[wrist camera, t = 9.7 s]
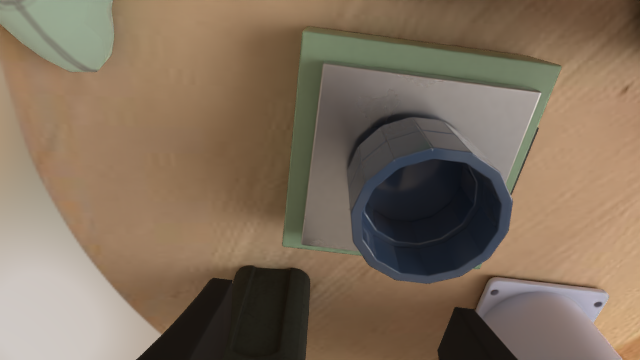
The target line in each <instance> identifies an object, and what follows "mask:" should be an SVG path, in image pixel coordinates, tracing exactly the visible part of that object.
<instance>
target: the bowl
mask: <svg viewBox="0 0 640 360" xmlns="http://www.w3.org/2000/svg"><path fill="white" fill-rule="evenodd" d="M347 182H348V195H349V206H350V218H351V229H352V241H353V243H354V245H355V246H356V247H357V249H358V250H359V252H360V253H361V255H362V256H363V258H364V259H365V260H366V262H367V263H368V265H370V266H371V267H373V268H374V269H376V270H378V271H380V272H382V273H383V274H385V275H387V276H389V277H391V278H393V279H394V280H398V281H407V282H416V283H425V284H427V283H428V284H430V283H434V282H438V281H443V280H447V279H451V278H456V277H460V276H462V275H464V274H465V273H467V272H468V271H470V270H472V269H473V268H475V267H476V266H478V265H479V264H481V263H483V262H484V261H486V260H487V259H489V258H490V257H491V255H492V254H493V252H494V251H495V250H496V248H497V247H498V246H499V244H500V243H501V241H502V240H503V239H504V237H505V236H506V234H507V233H508V231H509V224H510V218H511V211H512V205H513V199H512V197H511V195H510V193H509V190H508V188H507V186H506V183H505V181H504V179H503V177H502V174H501V172H500V171H499V170H498V169H497V168H496V167H495V166H494V165H493V164H492V163H491V162H490V161H489V160H488V159H487V158H486V157H485V156H484V155H483V154H482V153H481V152H480V151H479V150H478V149H477V148H476V147H475V146H474V145H473V144H472V143H471V142H470V141H469V140H468V139H467V138H466V137H465V136H464V135H463V134H461V133H460V132H458V131H457V130H455V129H454V128H452V127H451V126H450V125H448V124H447V123H445V122H442V121H440V120H433V119H425V118H417V117H409V118H406V119H403V120H399V121H396V122H393V123H390V124H386V125H383V126H382V127H380V128H379V129H377V130H376V131H375V132H374V133H373V134H372V135H371V136H369V137H368V138H367V139H366V140H365V141H364V142H363V143H361V144H360V145H359V147H358V148H357V150H356V152H355V154H354V156H353V159H352V161H351V163H350V166H349V168H348V170H347Z"/></svg>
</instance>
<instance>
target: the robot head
mask: <svg viewBox="0 0 640 360" xmlns="http://www.w3.org/2000/svg"><path fill="white" fill-rule="evenodd" d="M112 2H113V0H0V24H1V25H2V26H3V27H4V28H5V29H6V30H8V31H9V32H10V33H11V34H12V35H13V36H14V37H16V38H17V39H18V40H19V41H20V42H21V43H23V44H24V45H26V46H27V47H28V48H30V49H31V50H32V51H34V52H35V53H36V54H38V55H39V56H40V57H42V58H44V59H46V60H48V61H50V62H52V63H54V64H56V65H58V66H60V67H61V68H63V69H65V70H67V71H69V72H97V71H98V70H99V69H100V68H101V67H102V66H103V64H104V63H105V62H106V61H107V60H108V58H109V57H110V56H111V55H112V48H113V42H114V26H113V18H112Z"/></svg>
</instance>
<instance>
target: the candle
mask: <svg viewBox="0 0 640 360" xmlns="http://www.w3.org/2000/svg"><path fill="white" fill-rule="evenodd" d="M309 297H310V279H309V277H308V275H307V274H306V273H305V272H303V271H302V270H299V269H295V268H291V269H290V270H279V269H262V268H255V267H254V266H246V267H243V268H241V269H240V270H239V271H238V272H237V273H236V275H235V278H234V281H233V284H232V311H231V328H230V332H229V336H228V340H227V344H226V348H225V352H224V356H223V359H222V360H305V358H306V344H307V330H308V316H309Z"/></svg>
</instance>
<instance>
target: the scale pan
mask: <svg viewBox="0 0 640 360" xmlns="http://www.w3.org/2000/svg"><path fill="white" fill-rule="evenodd" d="M540 96H541V92H540V91H538V90H536V89H534V88H530V87H523V86H515V85H508V84H500V83H492V82H485V81H477V80H470V79H462V78H455V77H447V76H439V75H432V74H424V73H417V72H409V71H402V70H394V69H387V68H379V67H371V66H364V65H356V64H349V63H341V62H334V61H326V60H325V61H323V65H322V74H321V82H320V90H319V98H318V106H317V115H316V123H315V131H314V139H313V148H312V156H311V164H310V172H309V181H308V189H307V197H306V205H305V213H304V222H303V230H302V238H301V244H302V245H308V246H317V247H325V248H334V249H342V250H351V251H359V250H358V249H357V247H356V246H355V245H354V243H353V241H352V229H351V218H350V206H349V195H348V182H347V170H348V168H349V166H350V163H351V161H352V159H353V156H354V154H355V152H356V150H357V148H358V147H359V145H360V144H361V143H363V142H364V141H365V140H366V139H367V138H368V137H369V136H371V135H372V134H373V133H374V132H375V131H376V130H377V129H379V128H380V127H382V126H383V125H386V124H390V123H393V122H396V121H399V120H403V119H406V118H409V117H417V118H425V119H433V120H440V121H442V122H445V123H447V124H448V125H450V126H451V127H452V128H454V129H455V130H457V131H458V132H460V133H461V134H463V135H464V136H465V137H466V138H467V139H468V140H469V141H470V142H471V143H472V144H473V145H474V146H475V147H476V148H477V149H478V150H479V151H480V152H481V153H482V154H483V155H484V156H485V157H486V158H487V159H488V160H489V161H490V162H491V163H492V164H493V165H494V166H495V167H496V168H497V169H498V170H499V171H500V172H501V174H502V177H503V179H504V181H505V183H506V182H507V179H508V177H509V174H510V172H511V169H512V167H513V164H514V161H515V159H516V156H517V154H518V151H519V149H520V146H521V144H522V141H523V139H524V136H525V134H526V131H527V129H528V126H529V124H530V121H531V118H532V116H533V113H534V111H535V108H536V106H537V103H538V101H539V98H540Z"/></svg>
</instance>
